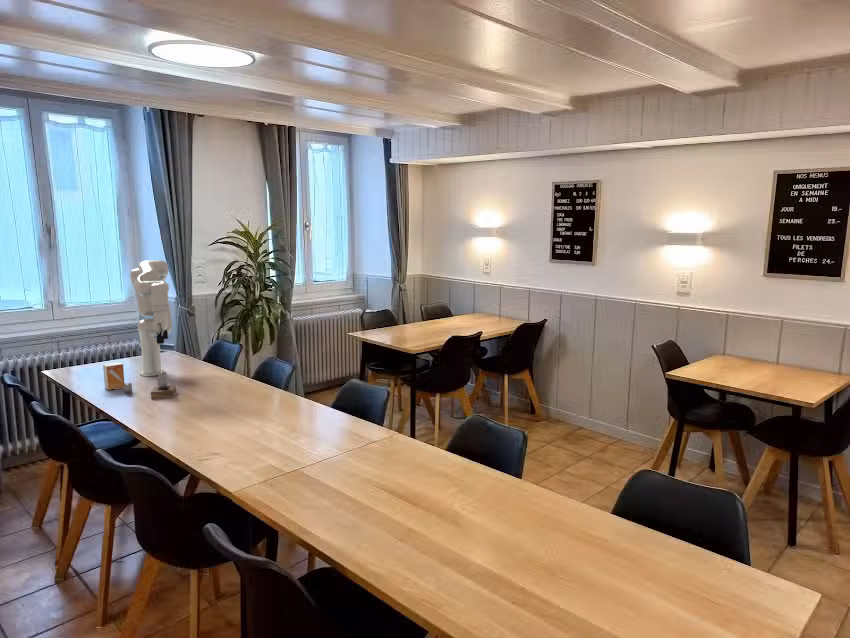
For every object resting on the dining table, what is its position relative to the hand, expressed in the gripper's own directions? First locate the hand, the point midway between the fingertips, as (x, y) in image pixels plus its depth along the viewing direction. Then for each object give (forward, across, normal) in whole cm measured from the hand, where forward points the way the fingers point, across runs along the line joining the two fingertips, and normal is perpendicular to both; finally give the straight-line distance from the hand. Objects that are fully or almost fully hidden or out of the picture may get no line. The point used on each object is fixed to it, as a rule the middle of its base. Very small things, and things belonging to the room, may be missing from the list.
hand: (162, 341), depth 293 cm
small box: (+27, -10, -27) cm, 40 cm away
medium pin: (+26, 0, -2) cm, 27 cm away
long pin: (+26, +7, 0) cm, 27 cm away
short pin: (+27, +1, -18) cm, 32 cm away
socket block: (+26, +8, +1) cm, 27 cm away
